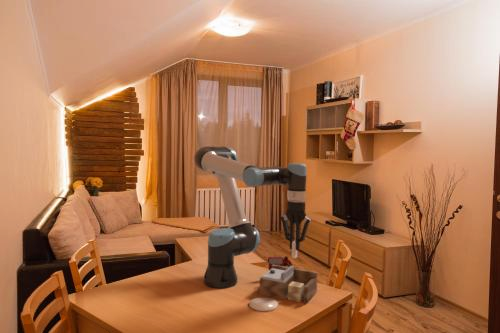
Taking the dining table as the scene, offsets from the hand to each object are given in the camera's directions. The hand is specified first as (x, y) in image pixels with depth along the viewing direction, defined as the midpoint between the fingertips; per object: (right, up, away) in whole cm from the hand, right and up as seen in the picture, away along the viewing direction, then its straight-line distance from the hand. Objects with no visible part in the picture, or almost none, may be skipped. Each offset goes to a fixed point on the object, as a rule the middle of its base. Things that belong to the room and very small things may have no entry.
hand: (294, 257), depth 152 cm
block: (0, -16, -4) cm, 16 cm away
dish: (-13, -16, -10) cm, 23 cm away
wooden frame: (-2, -16, +3) cm, 16 cm away
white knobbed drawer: (-7, -9, +4) cm, 12 cm away
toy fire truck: (-4, -15, +20) cm, 25 cm away
